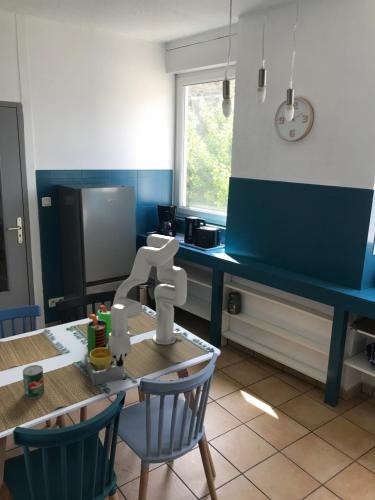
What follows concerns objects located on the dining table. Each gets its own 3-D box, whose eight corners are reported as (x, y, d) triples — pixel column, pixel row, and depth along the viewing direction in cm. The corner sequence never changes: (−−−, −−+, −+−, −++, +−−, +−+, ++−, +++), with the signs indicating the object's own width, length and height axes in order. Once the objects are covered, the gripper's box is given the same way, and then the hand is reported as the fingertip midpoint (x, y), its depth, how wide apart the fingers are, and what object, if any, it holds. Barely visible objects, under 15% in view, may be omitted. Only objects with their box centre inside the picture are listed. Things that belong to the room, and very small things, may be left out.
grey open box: (113, 360, 197) (113, 349, 196) (123, 378, 182) (123, 366, 181) (85, 366, 192) (85, 354, 190) (93, 385, 177) (93, 373, 175)
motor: (101, 358, 199) (100, 320, 194) (84, 355, 201) (82, 318, 196) (109, 348, 209) (108, 312, 204) (92, 346, 211) (91, 310, 206)
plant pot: (110, 378, 182) (110, 358, 180) (87, 377, 182) (87, 358, 180) (114, 366, 192) (114, 347, 190) (92, 365, 192) (92, 347, 190)
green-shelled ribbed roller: (117, 334, 225) (116, 304, 220) (107, 340, 218) (106, 309, 214) (105, 330, 229) (104, 300, 225) (94, 335, 223) (93, 305, 218)
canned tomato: (32, 386, 174) (30, 363, 172) (48, 389, 172) (46, 366, 170) (20, 396, 167) (18, 373, 164) (36, 400, 165) (34, 376, 162)
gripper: (132, 325, 192) (132, 359, 196) (101, 330, 185) (102, 366, 190) (137, 331, 185) (137, 367, 190) (105, 337, 179) (106, 374, 183)
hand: (119, 366), depth 190 cm, fingers closed
